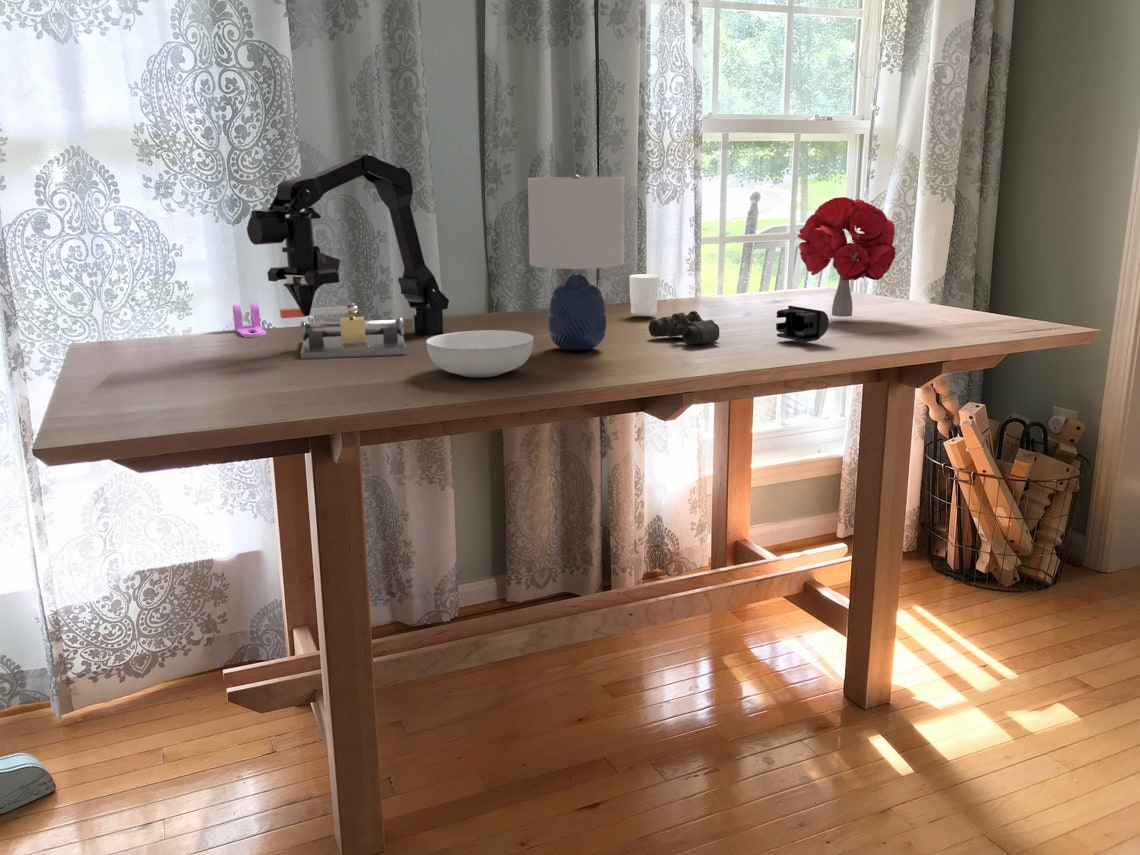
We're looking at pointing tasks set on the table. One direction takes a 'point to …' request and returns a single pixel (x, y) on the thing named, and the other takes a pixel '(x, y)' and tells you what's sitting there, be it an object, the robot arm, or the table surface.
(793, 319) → the end cap
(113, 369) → the table surface
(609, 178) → the lamp
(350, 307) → the lever
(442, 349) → the serving bowl
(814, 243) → the bouquet
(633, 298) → the white cup
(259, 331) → the bracket
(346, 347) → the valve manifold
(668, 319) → the binoculars
